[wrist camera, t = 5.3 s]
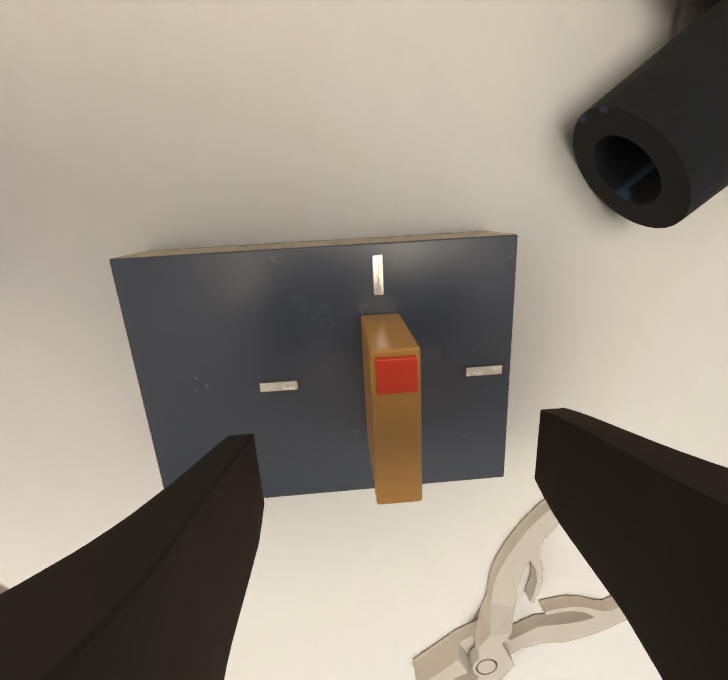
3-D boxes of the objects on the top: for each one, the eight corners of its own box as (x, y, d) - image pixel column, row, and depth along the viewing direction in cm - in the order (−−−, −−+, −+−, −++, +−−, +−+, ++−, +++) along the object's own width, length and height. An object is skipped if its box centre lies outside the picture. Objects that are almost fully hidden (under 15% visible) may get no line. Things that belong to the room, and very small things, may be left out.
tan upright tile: (402, 434, 16) (424, 507, 12) (367, 437, 16) (377, 511, 12) (399, 312, 15) (422, 350, 11) (360, 315, 15) (369, 353, 11)
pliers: (699, 593, 22) (490, 739, 25) (676, 569, 24) (481, 709, 26) (598, 490, 20) (376, 664, 22) (579, 470, 21) (373, 635, 24)
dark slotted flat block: (192, 463, 20) (166, 509, 16) (147, 250, 16) (105, 259, 13) (480, 439, 20) (505, 479, 17) (487, 230, 17) (520, 234, 14)
